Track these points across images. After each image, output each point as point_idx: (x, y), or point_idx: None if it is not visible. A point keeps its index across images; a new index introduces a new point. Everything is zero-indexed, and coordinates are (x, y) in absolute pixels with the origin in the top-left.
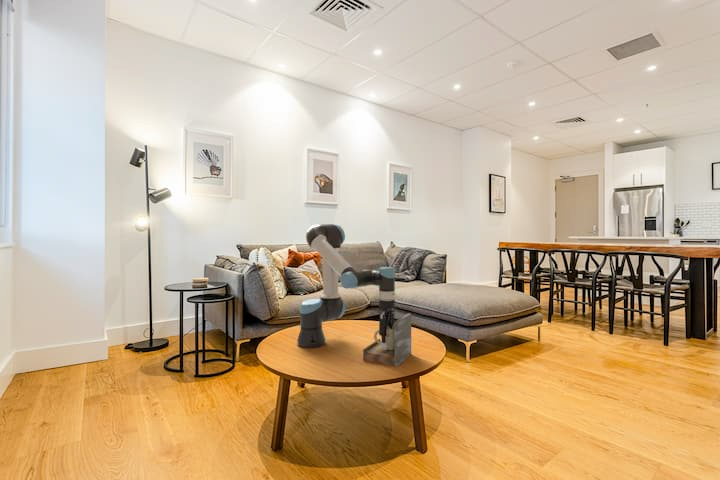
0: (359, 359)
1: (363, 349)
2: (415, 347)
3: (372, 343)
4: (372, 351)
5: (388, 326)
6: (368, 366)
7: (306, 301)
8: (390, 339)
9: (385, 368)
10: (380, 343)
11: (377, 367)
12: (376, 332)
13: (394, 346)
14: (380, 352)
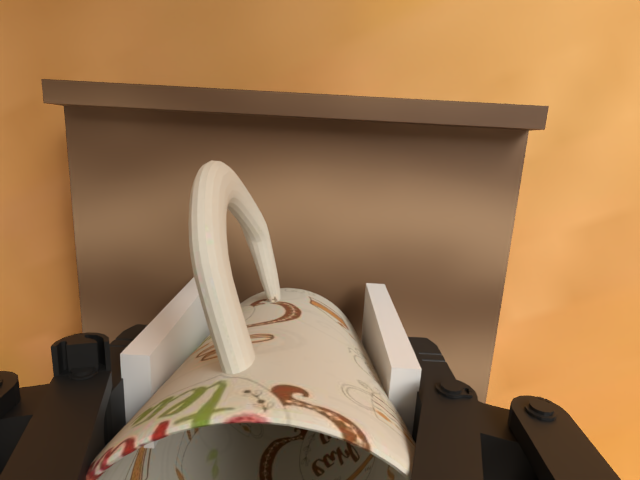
0: (115, 48)
1: (44, 84)
2: (636, 421)
3: (317, 101)
4: (127, 185)
5: (408, 478)
6: (5, 205)
7: None
8: (162, 464)
9: (45, 347)
10: (252, 249)
11: (28, 283)
12: (189, 226)
13: (232, 430)
14: (143, 279)
